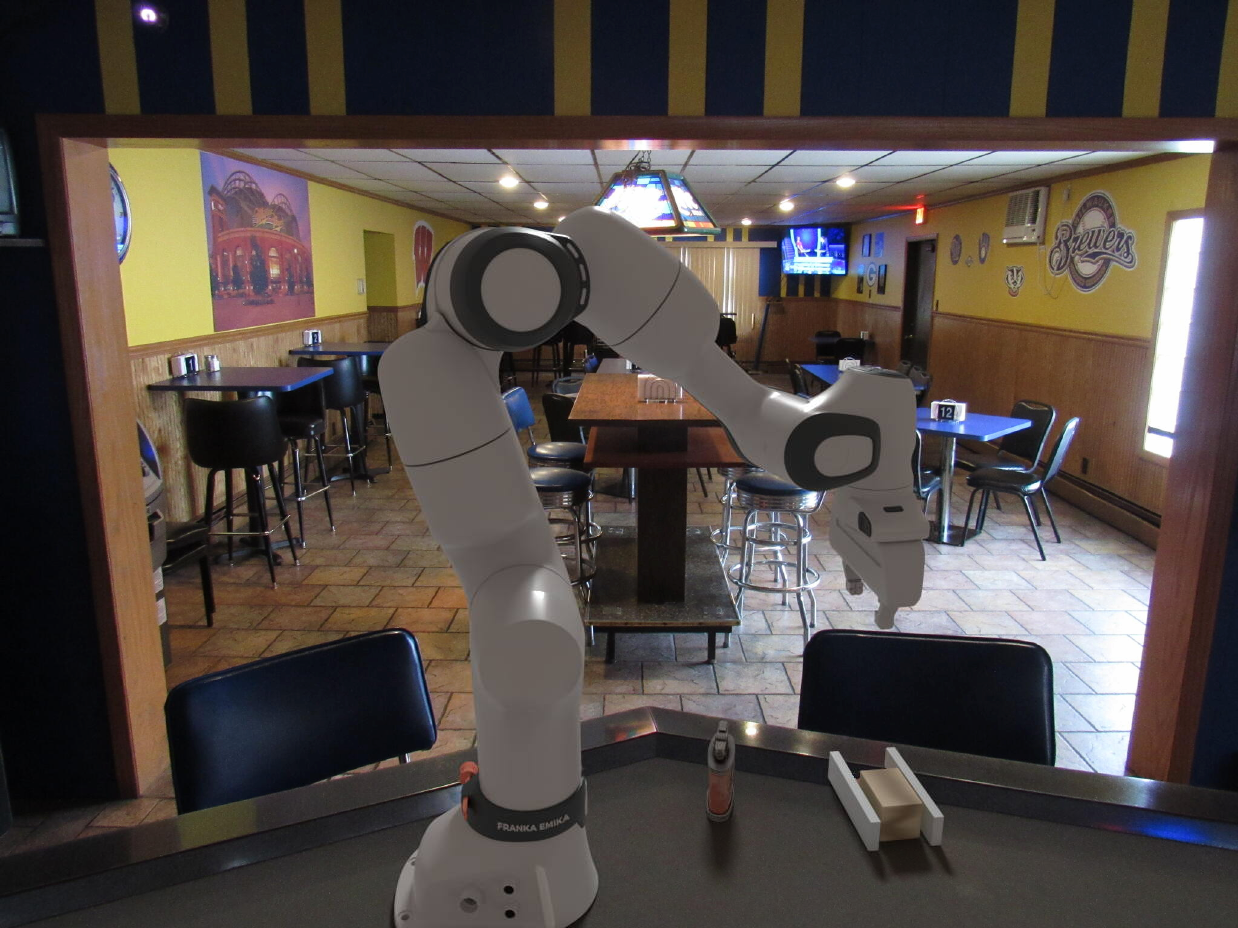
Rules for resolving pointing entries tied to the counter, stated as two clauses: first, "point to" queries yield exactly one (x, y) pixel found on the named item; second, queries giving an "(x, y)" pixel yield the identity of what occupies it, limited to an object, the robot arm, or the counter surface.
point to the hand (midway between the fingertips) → (868, 609)
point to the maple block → (892, 803)
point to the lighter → (720, 774)
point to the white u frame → (864, 812)
